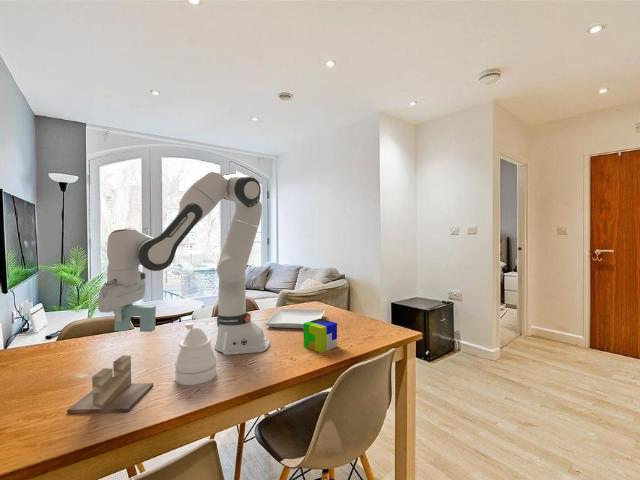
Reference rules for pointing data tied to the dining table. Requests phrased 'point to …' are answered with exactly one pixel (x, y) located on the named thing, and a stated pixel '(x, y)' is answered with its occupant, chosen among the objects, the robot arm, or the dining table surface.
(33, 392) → the dining table surface
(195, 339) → the honey pot
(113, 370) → the stand
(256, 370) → the dining table surface
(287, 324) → the square plate
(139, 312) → the green arch block
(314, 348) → the puzzle toy
